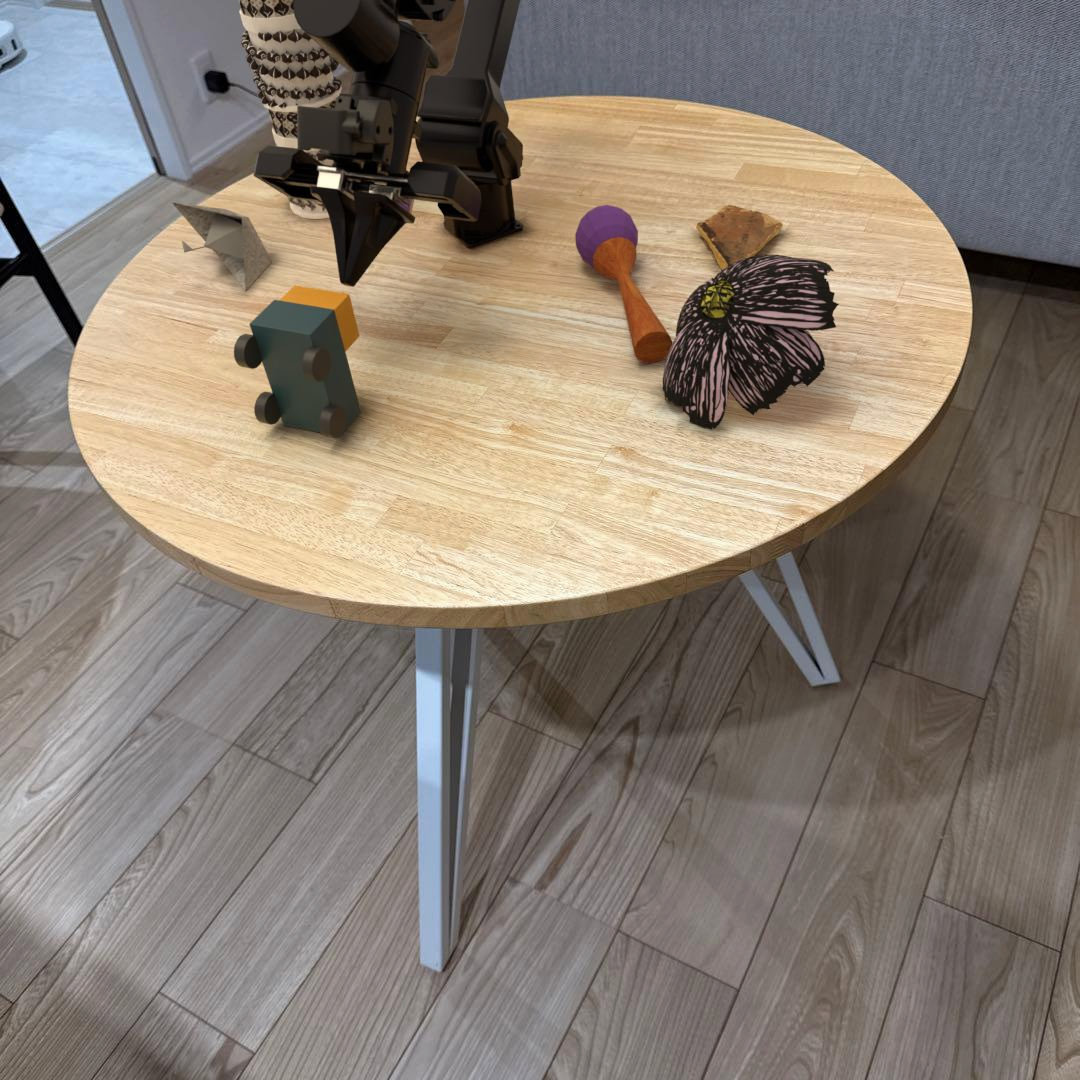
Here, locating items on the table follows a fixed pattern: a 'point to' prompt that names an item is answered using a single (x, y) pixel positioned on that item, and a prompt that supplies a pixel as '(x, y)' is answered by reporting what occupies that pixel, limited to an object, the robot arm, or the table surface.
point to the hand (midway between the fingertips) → (346, 285)
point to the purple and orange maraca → (622, 275)
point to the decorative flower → (749, 336)
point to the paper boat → (228, 240)
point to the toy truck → (304, 360)
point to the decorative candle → (288, 77)
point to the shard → (737, 233)
